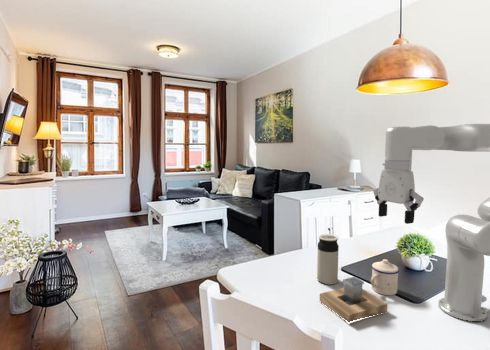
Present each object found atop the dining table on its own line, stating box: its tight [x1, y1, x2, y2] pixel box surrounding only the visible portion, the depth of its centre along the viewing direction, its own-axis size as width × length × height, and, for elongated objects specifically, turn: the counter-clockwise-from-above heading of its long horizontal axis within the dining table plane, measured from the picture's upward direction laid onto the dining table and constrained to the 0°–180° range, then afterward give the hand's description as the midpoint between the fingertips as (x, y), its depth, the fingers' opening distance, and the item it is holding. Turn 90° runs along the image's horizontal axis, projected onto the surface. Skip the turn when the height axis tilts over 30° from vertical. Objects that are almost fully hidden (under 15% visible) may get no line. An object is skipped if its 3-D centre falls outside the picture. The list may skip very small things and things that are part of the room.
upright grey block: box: [342, 276, 365, 306], centre depth 96 cm, size 6×4×9 cm, turn 112°
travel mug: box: [316, 233, 339, 285], centre depth 115 cm, size 8×8×18 cm
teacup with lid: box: [370, 258, 400, 296], centre depth 106 cm, size 12×9×12 cm
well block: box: [319, 287, 388, 322], centre depth 96 cm, size 16×14×3 cm
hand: (395, 219), depth 92 cm, fingers open, 9 cm apart
